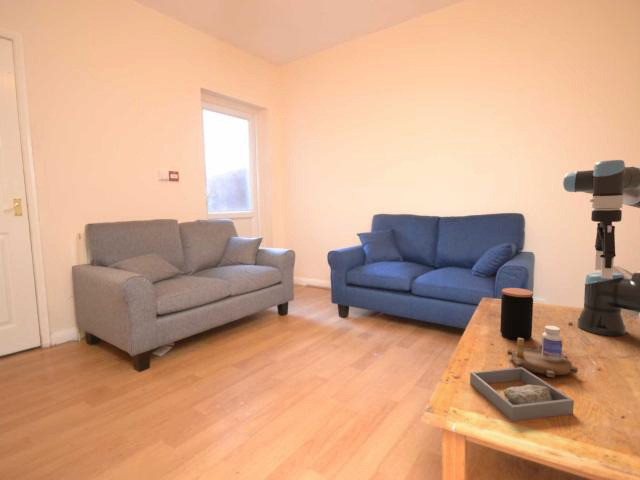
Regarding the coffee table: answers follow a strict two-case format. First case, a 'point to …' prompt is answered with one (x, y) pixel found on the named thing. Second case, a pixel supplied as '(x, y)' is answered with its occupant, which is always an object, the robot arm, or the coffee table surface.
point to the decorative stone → (527, 394)
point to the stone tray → (521, 411)
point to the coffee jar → (516, 313)
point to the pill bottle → (552, 343)
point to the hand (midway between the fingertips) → (603, 273)
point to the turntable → (539, 361)
